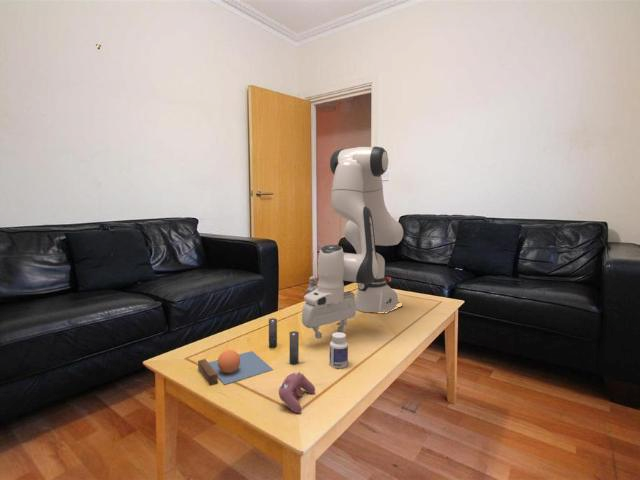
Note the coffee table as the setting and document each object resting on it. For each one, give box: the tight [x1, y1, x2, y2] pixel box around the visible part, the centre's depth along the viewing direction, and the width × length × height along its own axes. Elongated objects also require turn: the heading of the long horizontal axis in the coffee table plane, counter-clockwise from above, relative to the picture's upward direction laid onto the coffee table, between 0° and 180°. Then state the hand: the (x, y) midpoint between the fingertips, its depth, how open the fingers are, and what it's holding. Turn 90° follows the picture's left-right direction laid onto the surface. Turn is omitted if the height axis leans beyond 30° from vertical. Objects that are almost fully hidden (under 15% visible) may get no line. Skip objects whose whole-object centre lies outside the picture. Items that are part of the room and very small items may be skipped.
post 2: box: [289, 330, 300, 366], centre depth 99 cm, size 3×3×9 cm
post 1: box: [268, 317, 278, 349], centre depth 110 cm, size 3×3×9 cm
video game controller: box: [278, 371, 316, 414], centre depth 81 cm, size 10×5×7 cm, turn 159°
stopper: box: [197, 358, 219, 386], centre depth 92 cm, size 2×10×2 cm, turn 36°
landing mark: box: [207, 350, 274, 386], centre depth 97 cm, size 14×14×1 cm
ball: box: [217, 349, 240, 373], centre depth 94 cm, size 6×6×6 cm
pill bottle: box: [329, 331, 349, 369], centre depth 99 cm, size 5×5×9 cm
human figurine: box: [300, 275, 317, 296], centre depth 132 cm, size 12×4×18 cm, turn 48°
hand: (329, 334), depth 115 cm, fingers open, 8 cm apart
